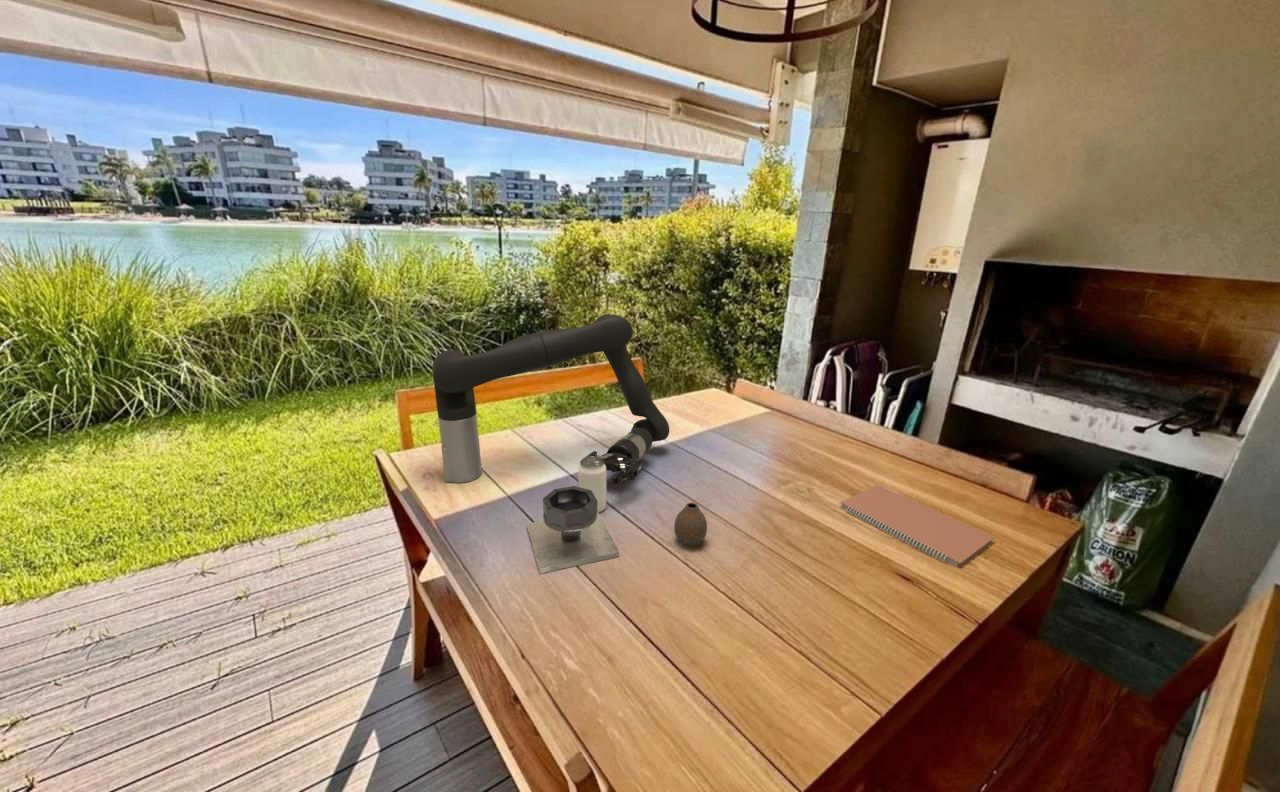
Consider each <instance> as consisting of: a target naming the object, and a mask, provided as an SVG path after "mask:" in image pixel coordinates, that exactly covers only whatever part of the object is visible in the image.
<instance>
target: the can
mask: <svg viewBox="0 0 1280 792" xmlns="http://www.w3.org/2000/svg"><path fill="white" fill-rule="evenodd" d="M585 457H586V456H585ZM577 472H578V477H577V479H578V487H580V488H584V489H588V490H592V492H593V494H594V496H595V497H596V499H597V512H598V513H601V512H603V511H604V510H605V509H606V508H607V470H606V466H605V464H604V460H603V459H602V458H600V457H594V456H592V457H586V458H584V457H583V458H582V459H581V460H580V461H579V465H578V471H577Z"/></svg>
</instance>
